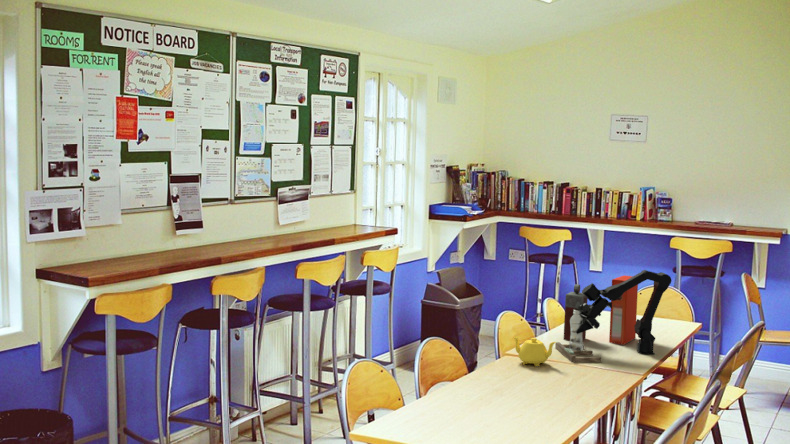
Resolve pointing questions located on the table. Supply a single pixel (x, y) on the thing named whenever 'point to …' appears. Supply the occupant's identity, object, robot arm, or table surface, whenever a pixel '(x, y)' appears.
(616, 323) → the file binder
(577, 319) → the plastic bottle
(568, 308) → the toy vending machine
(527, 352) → the teapot
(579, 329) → the robot arm
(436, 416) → the table surface
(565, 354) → the comb rack
